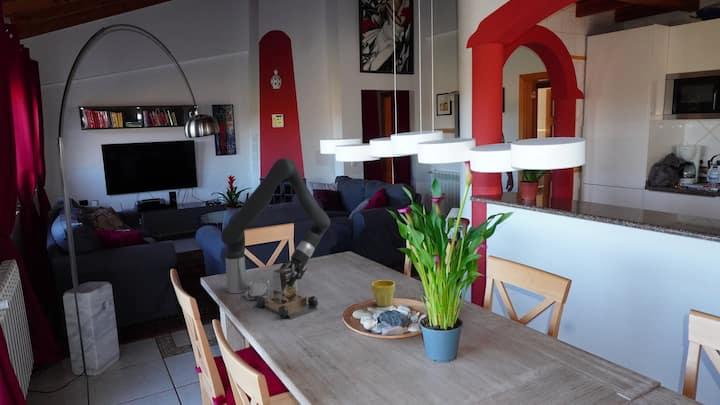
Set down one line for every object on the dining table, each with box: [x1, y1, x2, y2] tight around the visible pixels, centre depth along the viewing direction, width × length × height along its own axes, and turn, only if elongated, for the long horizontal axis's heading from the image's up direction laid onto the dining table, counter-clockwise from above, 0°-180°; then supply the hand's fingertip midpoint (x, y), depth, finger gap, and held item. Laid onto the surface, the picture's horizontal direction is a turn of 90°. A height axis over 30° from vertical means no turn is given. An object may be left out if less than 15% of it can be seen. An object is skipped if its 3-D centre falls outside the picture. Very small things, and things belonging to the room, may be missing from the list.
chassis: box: [255, 293, 319, 320], centre depth 223 cm, size 26×17×5 cm, turn 43°
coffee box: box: [272, 267, 299, 304], centre depth 222 cm, size 9×6×16 cm
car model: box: [244, 279, 271, 301], centre depth 244 cm, size 11×24×5 cm, turn 8°
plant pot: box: [371, 279, 396, 308], centre depth 222 cm, size 10×10×10 cm
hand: (283, 283), depth 221 cm, fingers open, 8 cm apart
